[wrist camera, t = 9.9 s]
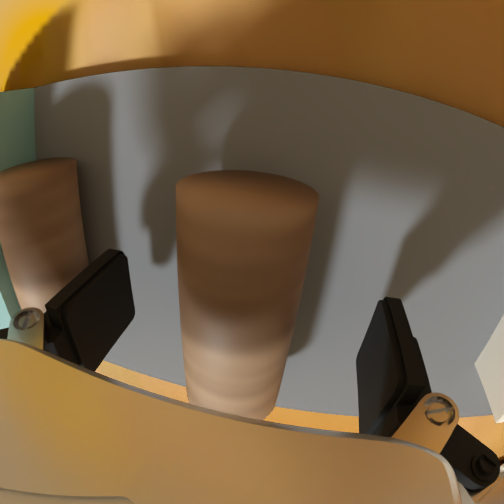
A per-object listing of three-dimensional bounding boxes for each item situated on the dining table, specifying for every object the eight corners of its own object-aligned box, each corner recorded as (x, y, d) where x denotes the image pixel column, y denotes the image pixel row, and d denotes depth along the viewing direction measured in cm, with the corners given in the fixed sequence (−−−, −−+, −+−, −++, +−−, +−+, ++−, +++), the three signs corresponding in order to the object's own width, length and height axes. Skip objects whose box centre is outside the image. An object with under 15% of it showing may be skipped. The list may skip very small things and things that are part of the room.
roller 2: (198, 166, 11) (151, 201, 7) (314, 178, 10) (325, 222, 7) (198, 352, 15) (176, 417, 11) (279, 364, 14) (273, 434, 11)
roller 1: (49, 155, 12) (-22, 178, 9) (95, 160, 11) (6, 189, 7) (76, 307, 16) (26, 342, 13) (120, 336, 15) (66, 380, 12)
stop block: (-7, 99, 11) (-63, 113, 7) (34, 87, 10) (-33, 98, 7) (39, 333, 18) (8, 367, 15) (79, 350, 18) (47, 391, 14)
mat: (1, 98, 11) (-7, 99, 11) (654, 232, 6) (658, 235, 5) (44, 328, 19) (39, 333, 18) (569, 396, 13) (571, 400, 12)
